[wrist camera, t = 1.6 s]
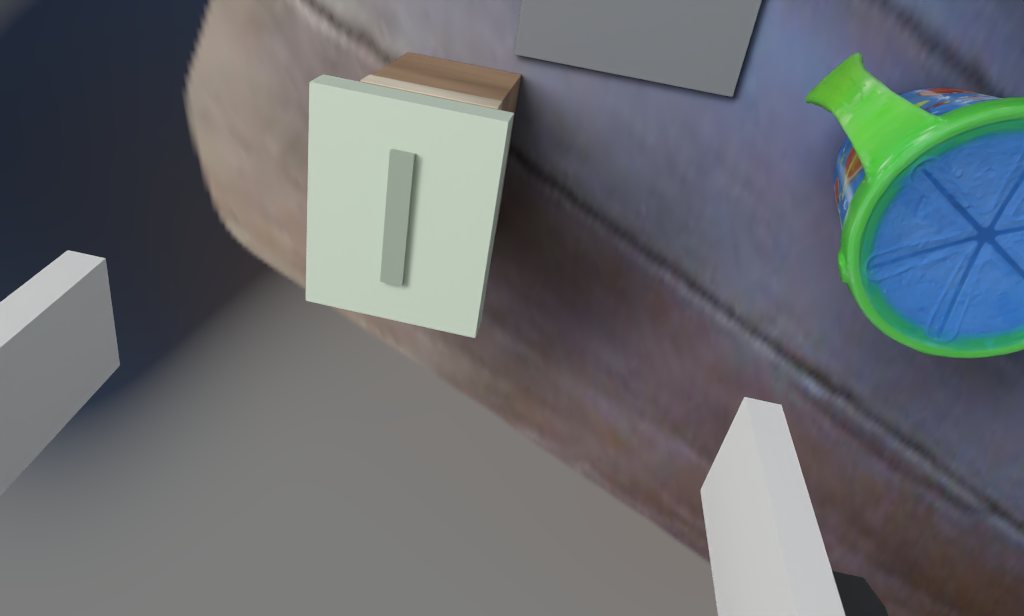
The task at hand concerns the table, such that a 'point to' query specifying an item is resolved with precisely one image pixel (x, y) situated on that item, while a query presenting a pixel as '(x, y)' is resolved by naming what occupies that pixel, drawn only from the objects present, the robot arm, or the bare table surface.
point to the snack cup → (930, 212)
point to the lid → (402, 203)
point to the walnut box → (451, 83)
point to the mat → (643, 38)
